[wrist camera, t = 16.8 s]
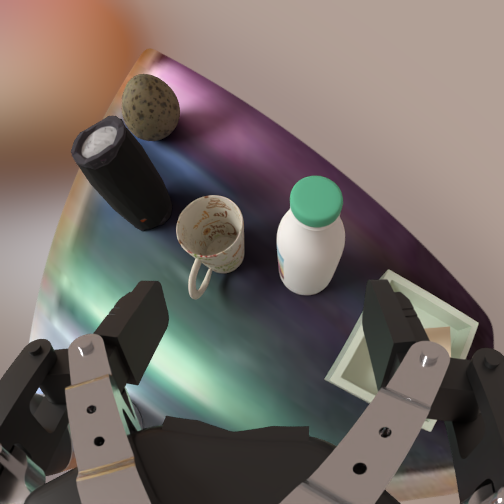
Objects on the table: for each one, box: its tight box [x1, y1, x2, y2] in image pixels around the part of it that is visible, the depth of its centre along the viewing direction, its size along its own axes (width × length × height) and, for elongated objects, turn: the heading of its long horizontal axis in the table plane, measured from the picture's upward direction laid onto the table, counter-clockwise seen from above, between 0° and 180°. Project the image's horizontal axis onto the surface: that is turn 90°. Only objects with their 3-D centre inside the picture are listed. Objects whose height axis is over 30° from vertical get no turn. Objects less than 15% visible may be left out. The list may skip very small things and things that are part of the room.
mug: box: [176, 195, 244, 299], centre depth 41 cm, size 8×13×10 cm, turn 162°
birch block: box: [425, 326, 451, 357], centre depth 32 cm, size 4×4×10 cm
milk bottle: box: [277, 176, 345, 295], centre depth 35 cm, size 8×8×20 cm
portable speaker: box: [71, 116, 172, 231], centre depth 42 cm, size 9×9×20 cm
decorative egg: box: [122, 74, 180, 141], centre depth 51 cm, size 11×11×15 cm
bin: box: [325, 269, 479, 432], centre depth 36 cm, size 16×16×5 cm
